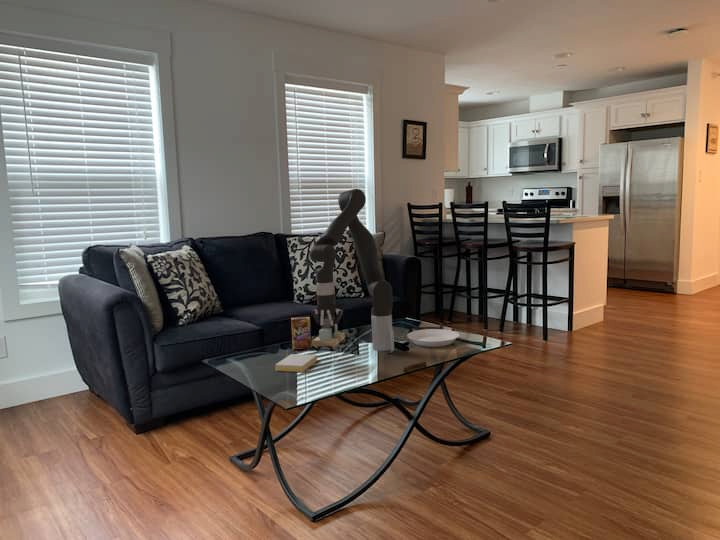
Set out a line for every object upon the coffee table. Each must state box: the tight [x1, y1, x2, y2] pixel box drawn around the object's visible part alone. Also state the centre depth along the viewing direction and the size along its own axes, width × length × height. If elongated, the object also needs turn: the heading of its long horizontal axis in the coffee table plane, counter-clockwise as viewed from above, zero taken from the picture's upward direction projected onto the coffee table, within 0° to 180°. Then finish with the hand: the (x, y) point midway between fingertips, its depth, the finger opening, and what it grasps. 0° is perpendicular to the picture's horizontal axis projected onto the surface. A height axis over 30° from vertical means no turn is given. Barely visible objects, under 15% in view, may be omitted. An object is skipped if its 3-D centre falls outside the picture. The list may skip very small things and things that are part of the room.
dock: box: [274, 353, 318, 373], centre depth 234 cm, size 12×16×4 cm
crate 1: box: [318, 328, 332, 340], centre depth 228 cm, size 4×4×4 cm
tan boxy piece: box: [311, 317, 347, 347], centre depth 231 cm, size 14×10×10 cm
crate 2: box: [333, 323, 339, 336], centre depth 235 cm, size 4×4×4 cm
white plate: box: [406, 328, 460, 348], centre depth 268 cm, size 25×25×4 cm
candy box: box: [290, 316, 312, 350], centre depth 266 cm, size 9×4×15 cm, turn 98°
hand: (328, 333), depth 231 cm, fingers closed on tan boxy piece, 3 cm apart
